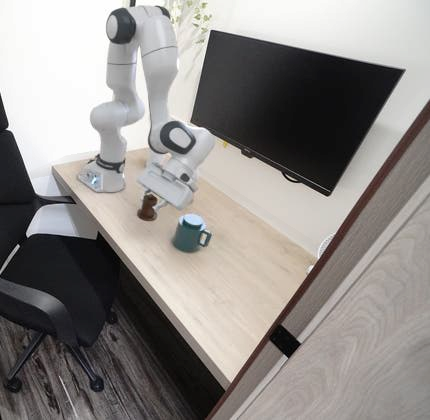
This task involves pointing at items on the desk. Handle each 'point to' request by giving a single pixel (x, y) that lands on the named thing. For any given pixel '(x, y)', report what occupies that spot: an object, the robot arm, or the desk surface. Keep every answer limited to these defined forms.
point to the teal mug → (190, 233)
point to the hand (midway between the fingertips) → (147, 205)
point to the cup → (155, 158)
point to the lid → (148, 208)
